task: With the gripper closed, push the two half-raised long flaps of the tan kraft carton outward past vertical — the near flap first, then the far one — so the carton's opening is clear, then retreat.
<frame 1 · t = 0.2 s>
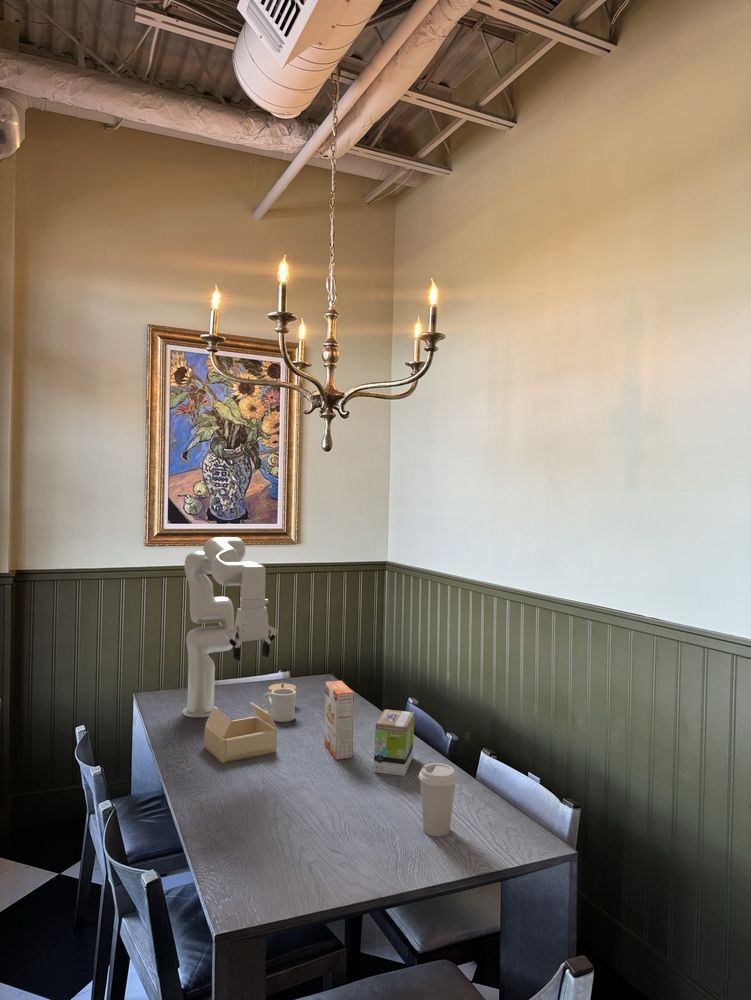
hand: (251, 658, 212), 30 cm above the table, fingers open, 9 cm apart
coffee cup: (436, 830, 165), on the table
flap far: (262, 714, 218), point 10 cm above the table, hinge at 60.0°
flap near: (218, 722, 209), point 10 cm above the table, hinge at 60.0°
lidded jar: (281, 707, 258), on the table
cracker box: (337, 752, 215), on the table
mug: (278, 719, 245), on the table
carton: (240, 749, 214), on the table
tea box: (393, 765, 205), on the table
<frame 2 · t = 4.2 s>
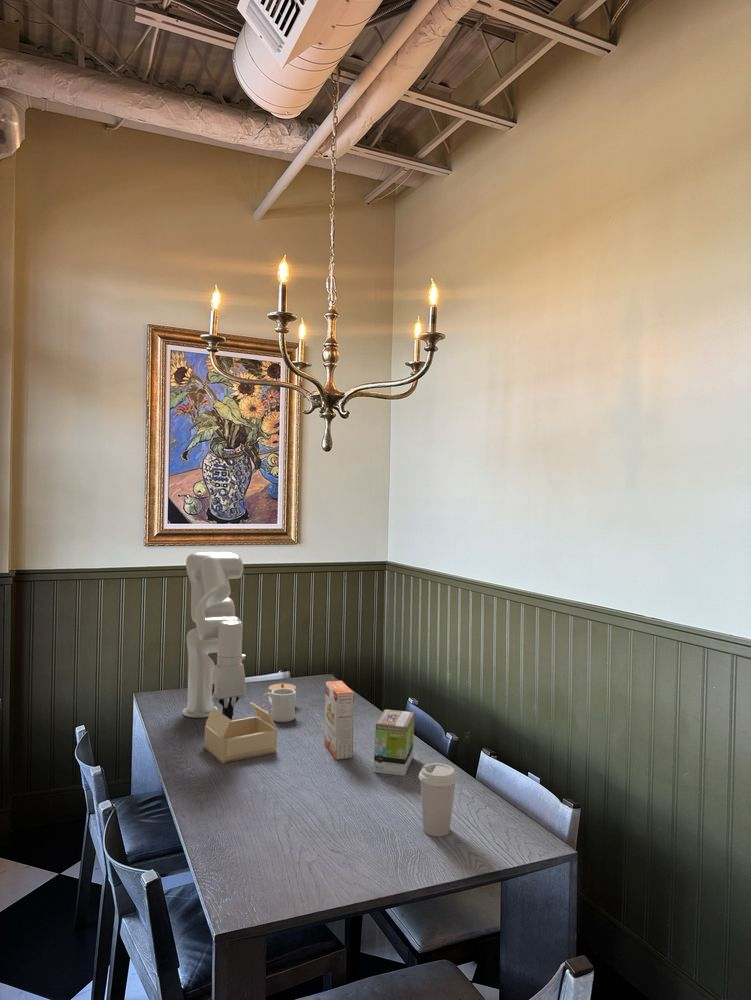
hand: (227, 718, 211), 11 cm above the table, fingers closed
flap near: (218, 721, 209), point 10 cm above the table, hinge at 63.6°, touching gripper
everything else where it was.
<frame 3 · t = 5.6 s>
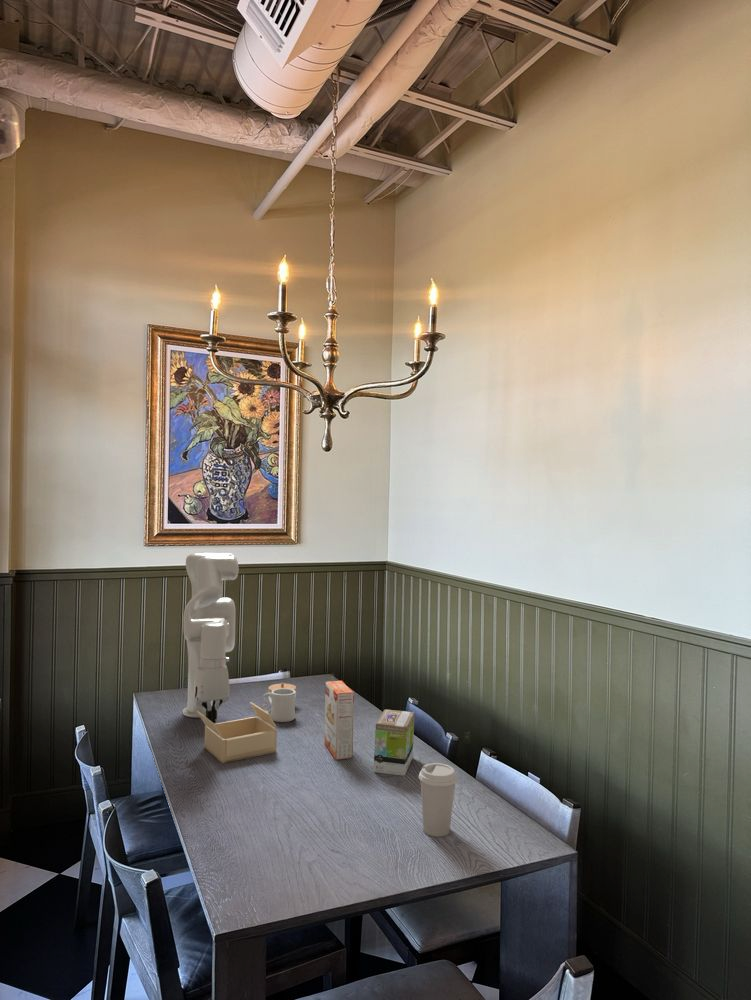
hand: (211, 722, 208), 11 cm above the table, fingers closed
flap near: (209, 723, 208), point 10 cm above the table, hinge at 121.7°, touching gripper
everything else where it was.
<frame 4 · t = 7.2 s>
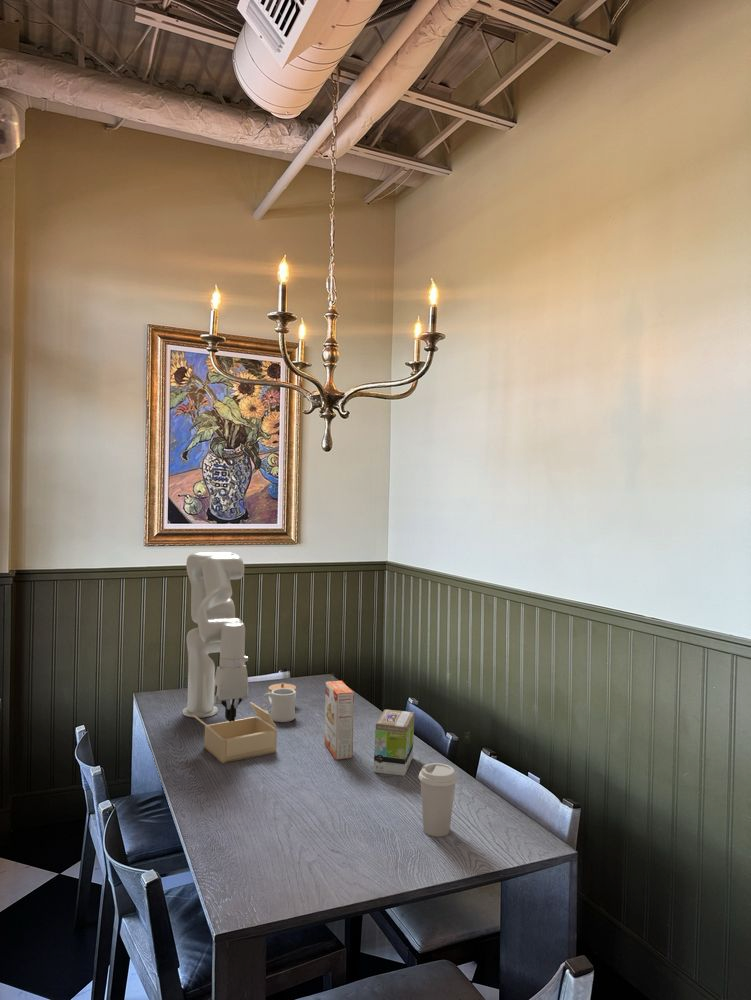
hand: (230, 720, 212), 10 cm above the table, fingers closed
flap near: (207, 726, 207), point 9 cm above the table, hinge at 138.5°
everything else where it was.
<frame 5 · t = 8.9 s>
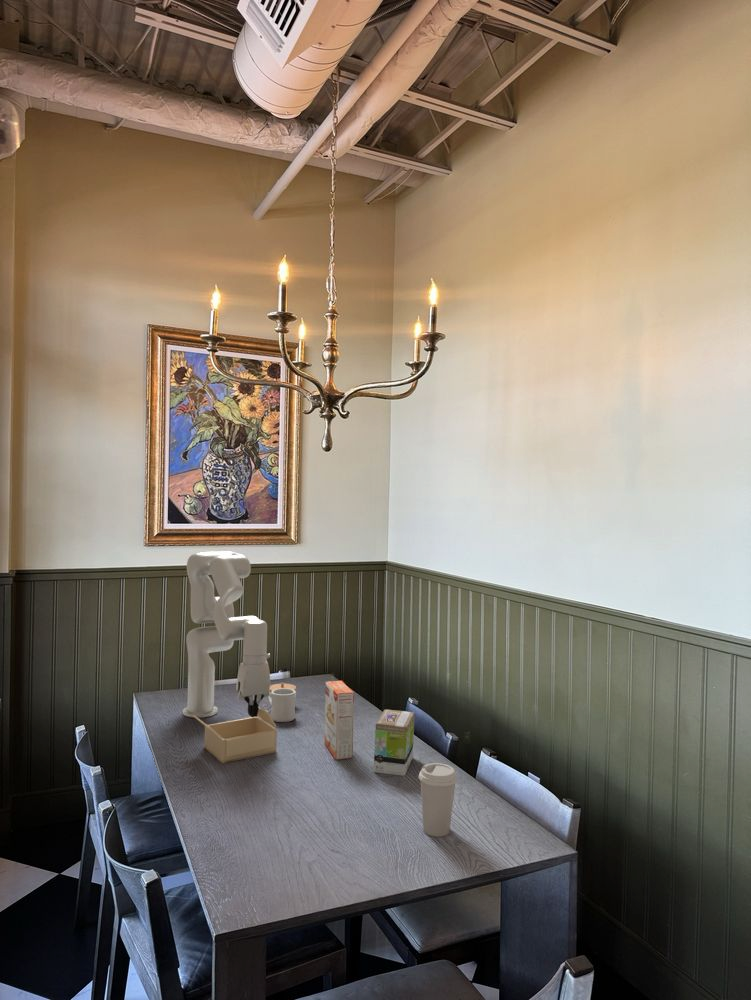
hand: (253, 715, 216), 10 cm above the table, fingers closed
flap far: (262, 714, 218), point 10 cm above the table, hinge at 60.1°, touching gripper
flap near: (207, 726, 207), point 9 cm above the table, hinge at 139.0°
everything else where it was.
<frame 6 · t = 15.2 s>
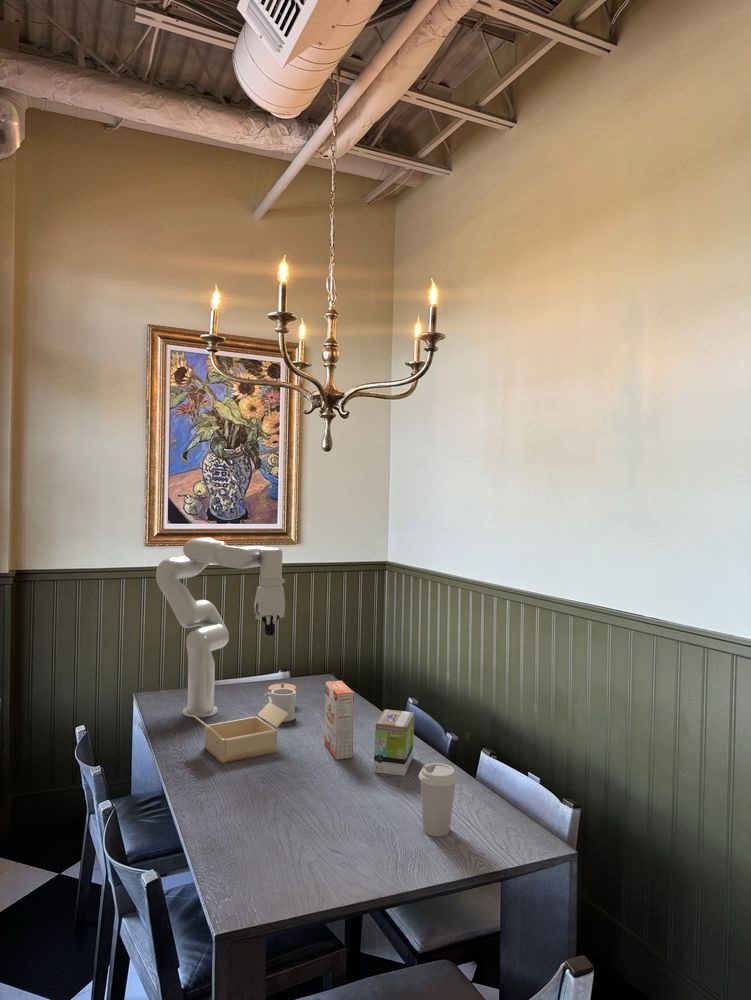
hand: (269, 634, 236), 32 cm above the table, fingers closed
flap far: (272, 714, 220), point 9 cm above the table, hinge at 138.3°
everything else where it was.
at the end: flap near at +139° (first picture: +60°); flap far at +138° (first picture: +60°) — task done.
